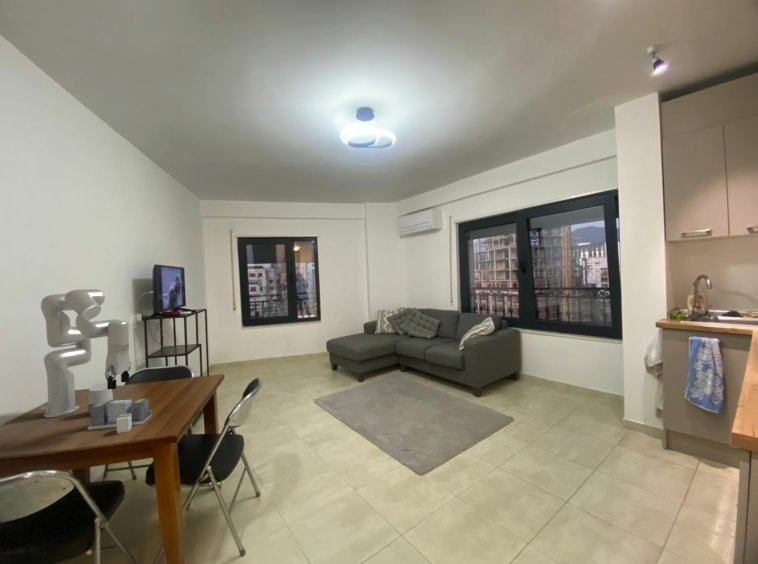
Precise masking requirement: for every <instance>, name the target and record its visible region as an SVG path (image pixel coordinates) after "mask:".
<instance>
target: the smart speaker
mask: <svg viewBox="0 0 758 564" xmlns="http://www.w3.org/2000/svg"><path fill="white" fill-rule="evenodd" d="M87 400H88V401H87V402H88V403H87V410H88V412H89V414H90V407H92V406H93V405H95V404H99V403H104V402H106V403H111V402H113V401H114V395H113V389H107V381H105V382H104V381H103V382H99V383H94V385H91V386H90V387H89V389H88V399H87Z"/></svg>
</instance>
